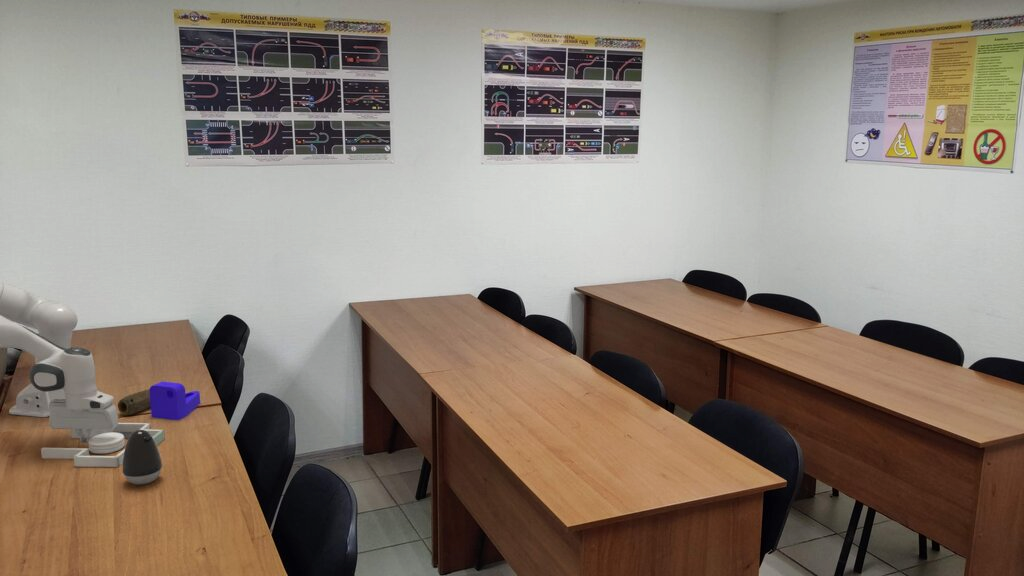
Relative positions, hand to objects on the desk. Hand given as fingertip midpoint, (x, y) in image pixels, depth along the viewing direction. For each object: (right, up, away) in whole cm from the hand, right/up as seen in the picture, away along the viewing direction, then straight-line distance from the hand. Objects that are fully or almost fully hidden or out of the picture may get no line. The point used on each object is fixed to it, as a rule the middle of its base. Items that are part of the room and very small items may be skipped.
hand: (85, 441), depth 252 cm
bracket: (+16, +4, +35) cm, 39 cm away
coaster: (+6, -2, +1) cm, 7 cm away
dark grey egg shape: (+28, -7, -22) cm, 37 cm away
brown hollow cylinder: (+1, +4, +35) cm, 35 cm away
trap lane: (+6, -2, +1) cm, 6 cm away
